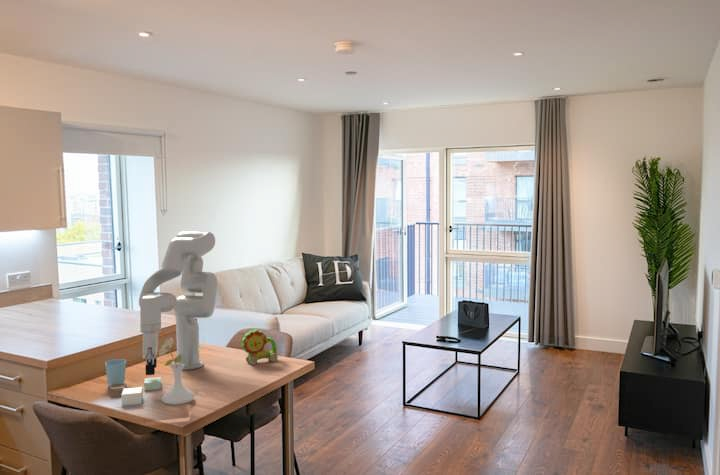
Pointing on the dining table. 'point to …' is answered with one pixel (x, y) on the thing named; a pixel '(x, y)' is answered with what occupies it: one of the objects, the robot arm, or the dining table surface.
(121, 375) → the cup
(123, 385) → the walnut brick
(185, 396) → the flower in vase
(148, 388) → the sage brick
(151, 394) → the dining table surface
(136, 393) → the cream brick
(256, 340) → the toy lion
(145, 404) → the build plate
